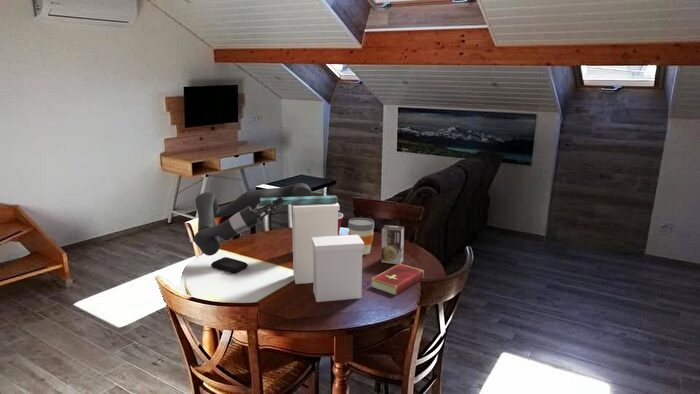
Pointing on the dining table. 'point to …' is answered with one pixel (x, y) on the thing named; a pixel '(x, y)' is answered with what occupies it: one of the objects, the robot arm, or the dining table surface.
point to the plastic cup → (339, 221)
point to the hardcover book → (397, 279)
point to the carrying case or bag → (229, 265)
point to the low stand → (337, 267)
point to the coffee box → (392, 244)
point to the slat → (302, 200)
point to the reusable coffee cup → (362, 231)
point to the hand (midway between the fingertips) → (282, 197)
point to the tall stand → (310, 235)
